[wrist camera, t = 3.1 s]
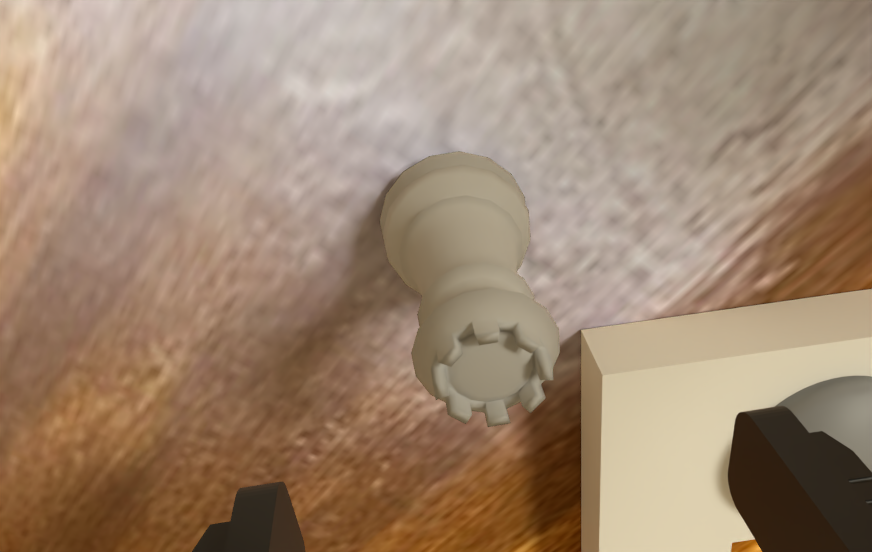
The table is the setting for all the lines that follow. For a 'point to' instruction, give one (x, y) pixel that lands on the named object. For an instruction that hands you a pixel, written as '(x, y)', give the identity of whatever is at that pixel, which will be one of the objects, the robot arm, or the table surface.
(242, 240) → the table surface
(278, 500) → the robot arm
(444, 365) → the rook chess piece
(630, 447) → the carrier plate
